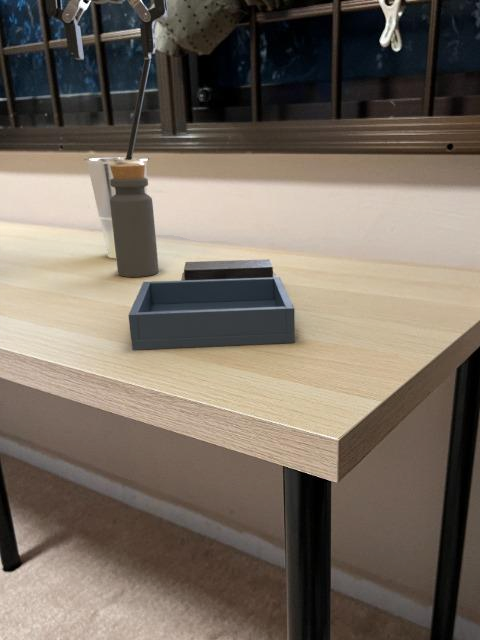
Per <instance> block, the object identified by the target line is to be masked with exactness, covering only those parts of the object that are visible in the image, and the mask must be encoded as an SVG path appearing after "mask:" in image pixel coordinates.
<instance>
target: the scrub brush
mask: <svg viewBox="0 0 480 640" xmlns="http://www.w3.org/2000/svg"><path fill="white" fill-rule="evenodd" d="M271 277H277V275H276V274H275V271H274V267H273V265H272V262H271V260H270V259H269V258H268V259H238V260H236V259H235V260H205V261H204V260H203V261H185V263H184V268H183V272H182V274H181V279H180V281H182V280H212V279H241V278H271Z"/></svg>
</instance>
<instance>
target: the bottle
mask: <svg viewBox="0 0 480 640" xmlns="http://www.w3.org/2000/svg"><path fill="white" fill-rule="evenodd" d="M110 168H111V171H112V174H113V179H111V180H110V184H111V186H112V187H114V188H115V191H116V194H115V195H114V196H112V197H111V199H110V207H111V217H112V226H113V234H114V243H115V251H116V259H115V261H116V266H117V267H116V268H117V273H118V275H119V276H122V277H126V278H142V277H150V276H153V275H156V274H158V273H159V259H158V246H157V237H156V236H157V235H156V224H155V216H154V203H153V198H152V197H151V196H150V195H149V194H145V190H144V187H145V186H149V178H148V177H147V178H144V172H145V165H143V164H120V165H111V166H110Z"/></svg>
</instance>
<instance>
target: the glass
mask: <svg viewBox="0 0 480 640" xmlns="http://www.w3.org/2000/svg"><path fill="white" fill-rule="evenodd" d="M150 66H151V59H144V62H143V66H142V72H141V76H140V83H139V88H138V93H137V98H136V103H135V107H134V108H135V109H134V115H133V120H132V125H131V129H130V130H131V131H130V135H129V141H128V144H127V145H128V147H127V151H126V156H125V157H95V158H84V159H83V161H84V162H86V164H87V169H88V173H89V177H90V182H91V187H92V191H93V195H94V196H93V197H94V201H95V205H96V209H97V215H98V217H99V221H100V224H101V225H100V226H101V231H102V235H103V240H104V244H105V249H106V252H107V254H106V255H107V257H108V258H110V259H114V260H116V251H115V243H114V234H113V226H112V217H111V207H110V199H111V197H112V196H114V195H115V194H116V191H115V188H114V187H112V186H111V184H110V180H111V179H113V174H112V171H111V168H110V166H111V165H120V164H143V165H145V172H144V178H147V179H148V177H147V176H148V175H147V174H148V173H147V171H148V169H147V167H148V161H149V160H150V158H149V157H133V154H134V149H135V144H136V139H137V134H138V128H139V123H140V118H141V112H142V108H143V102H144V97H145V92H146V86H147V81H148V76H149V71H150ZM144 190H145V194H147V193H148V192H147V191H148V187H147V186H145V187H144ZM147 195H148V194H147Z"/></svg>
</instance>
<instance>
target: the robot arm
mask: <svg viewBox="0 0 480 640" xmlns="http://www.w3.org/2000/svg"><path fill="white" fill-rule="evenodd" d="M125 1H127V2H128V4H129V5H130V6H131V7H132V9H133V10H134V11H135V12H136V14H137V15H138V16H139V18H140V19H141V22H140V23H139V30H140V31H139V32H140V40H141V42H140V43H141V53H142V58H143V59H144V60H145V59H150V60H151V59H152V55H155V53H156V50H157V48H156V36H155V24H156V23H157V22H159V21H162V20H166V19H167V18H168V17H169V9H168V1H167V0H153V4H154V7H151V8H147V6H146V5H145V4H144V3H143V1H142V0H69V1H68V2H67V5H66V7H65V9H63V0H45V10H46V14H47V15H48V16H49V17H51V18H53V19H54V20H56V21H59V22H62V24H63V26H64V32H65V39H66V47H67V50H68V52H69V54H71V55H73V58H74V60H78V61H80V60H81V61H82V60H84V59H85V54H84V49H83V40H82V39H83V38H82V32H81V26H80V25H78V24H79V22H80V20H81V18H82V16H83V14H84V13H85V11H87V10H88V8H89V6H90V4H91V2H92V3H94V4H96V5H104V4H107V3H112V4H115V5H118V4H119V5H122V4H123V3H124V2H125Z"/></svg>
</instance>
